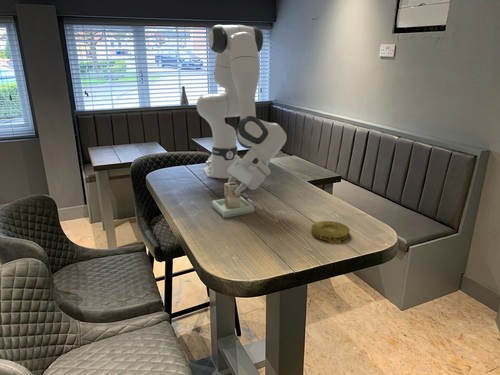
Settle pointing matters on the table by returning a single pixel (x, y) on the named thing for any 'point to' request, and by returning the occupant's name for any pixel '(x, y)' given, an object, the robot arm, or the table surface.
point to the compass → (330, 231)
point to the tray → (225, 212)
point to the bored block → (231, 196)
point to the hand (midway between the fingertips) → (230, 190)
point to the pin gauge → (247, 198)
